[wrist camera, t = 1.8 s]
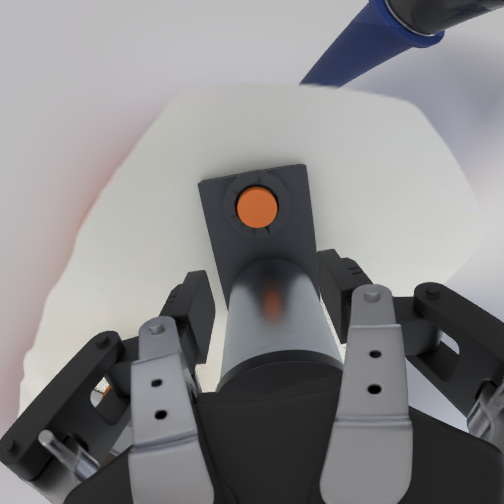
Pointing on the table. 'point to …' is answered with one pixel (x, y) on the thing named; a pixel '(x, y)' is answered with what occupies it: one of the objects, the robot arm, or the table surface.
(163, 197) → the table surface
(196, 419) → the robot arm
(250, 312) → the silver metal canister
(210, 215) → the push button base
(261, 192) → the switch
